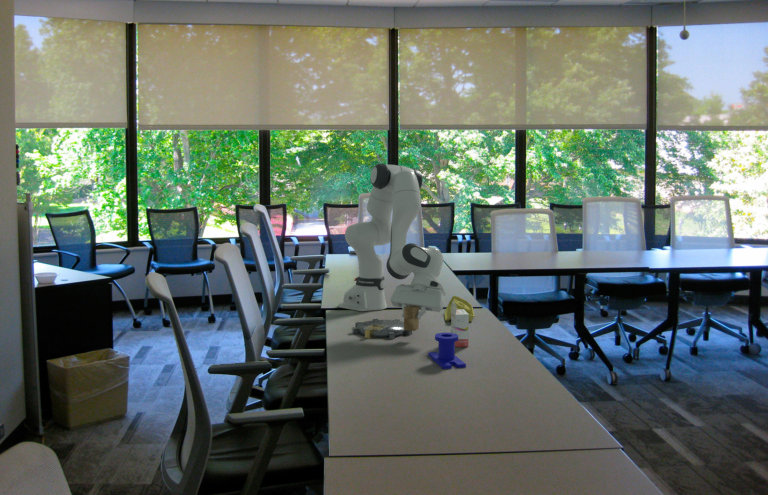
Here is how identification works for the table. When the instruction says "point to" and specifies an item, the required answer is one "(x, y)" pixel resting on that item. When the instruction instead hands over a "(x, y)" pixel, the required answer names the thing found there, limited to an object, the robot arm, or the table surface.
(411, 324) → the brown rectangular block
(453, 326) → the ink cartridge box
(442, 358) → the mount
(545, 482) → the table surface
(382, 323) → the sprocket plate
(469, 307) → the plastic component
